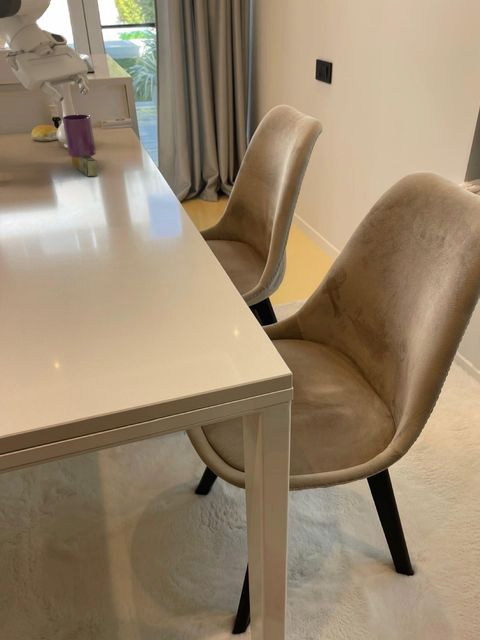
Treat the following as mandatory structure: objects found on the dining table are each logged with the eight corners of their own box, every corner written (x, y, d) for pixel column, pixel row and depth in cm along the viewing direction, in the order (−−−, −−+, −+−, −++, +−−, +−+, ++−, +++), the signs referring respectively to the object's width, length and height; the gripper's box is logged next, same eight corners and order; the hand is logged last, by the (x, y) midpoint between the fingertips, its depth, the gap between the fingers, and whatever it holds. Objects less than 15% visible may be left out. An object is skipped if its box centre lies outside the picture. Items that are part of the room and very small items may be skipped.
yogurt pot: (75, 159, 141) (68, 121, 136) (65, 153, 145) (58, 116, 140) (100, 154, 145) (94, 117, 139) (89, 149, 149) (83, 113, 144)
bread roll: (49, 134, 181) (47, 121, 178) (66, 138, 176) (63, 125, 174) (26, 138, 175) (23, 125, 173) (42, 143, 171) (39, 129, 168)
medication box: (98, 176, 144) (97, 160, 142) (87, 176, 142) (86, 160, 140) (81, 164, 152) (80, 148, 150) (71, 164, 150) (70, 149, 148)
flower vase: (47, 155, 159) (26, 57, 145) (59, 139, 175) (41, 49, 160) (93, 154, 161) (77, 56, 147) (101, 138, 176) (88, 48, 162)
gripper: (6, 43, 124) (49, 94, 127) (67, 35, 140) (105, 80, 142) (-4, 64, 129) (39, 113, 131) (57, 54, 144) (94, 98, 146)
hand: (74, 96), depth 137 cm, fingers open, 8 cm apart
